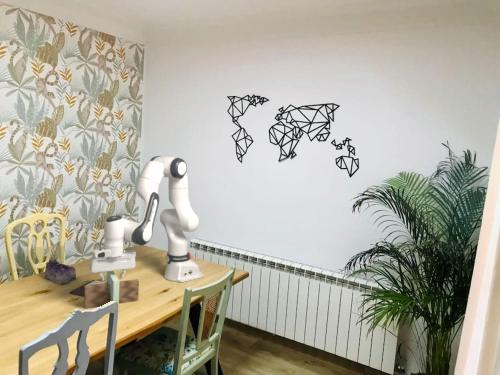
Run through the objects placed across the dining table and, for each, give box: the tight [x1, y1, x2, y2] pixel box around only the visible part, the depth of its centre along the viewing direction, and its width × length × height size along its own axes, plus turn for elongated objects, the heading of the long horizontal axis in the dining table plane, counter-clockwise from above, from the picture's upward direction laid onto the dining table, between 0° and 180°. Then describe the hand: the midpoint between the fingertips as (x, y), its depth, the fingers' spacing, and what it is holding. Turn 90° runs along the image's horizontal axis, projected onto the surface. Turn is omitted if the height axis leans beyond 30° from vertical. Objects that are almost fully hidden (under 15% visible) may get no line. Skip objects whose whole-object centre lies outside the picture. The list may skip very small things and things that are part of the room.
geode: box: [44, 258, 77, 285], centre depth 202 cm, size 20×12×10 cm, turn 63°
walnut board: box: [83, 278, 140, 310], centre depth 178 cm, size 24×2×10 cm, turn 121°
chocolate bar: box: [68, 279, 106, 298], centre depth 193 cm, size 9×1×18 cm
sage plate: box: [106, 271, 120, 303], centre depth 178 cm, size 16×2×14 cm, turn 31°
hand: (112, 279), depth 177 cm, fingers open, 7 cm apart
